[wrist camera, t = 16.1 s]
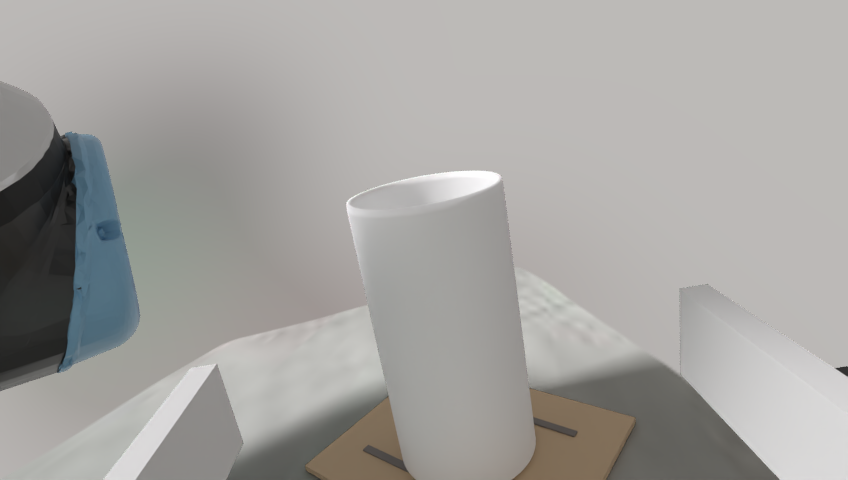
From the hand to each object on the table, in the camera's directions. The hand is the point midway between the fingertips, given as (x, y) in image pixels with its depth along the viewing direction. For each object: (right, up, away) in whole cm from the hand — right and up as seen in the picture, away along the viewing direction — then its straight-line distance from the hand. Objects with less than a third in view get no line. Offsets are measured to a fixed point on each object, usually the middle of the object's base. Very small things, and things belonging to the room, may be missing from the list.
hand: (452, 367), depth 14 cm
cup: (+2, -9, +16) cm, 19 cm away
